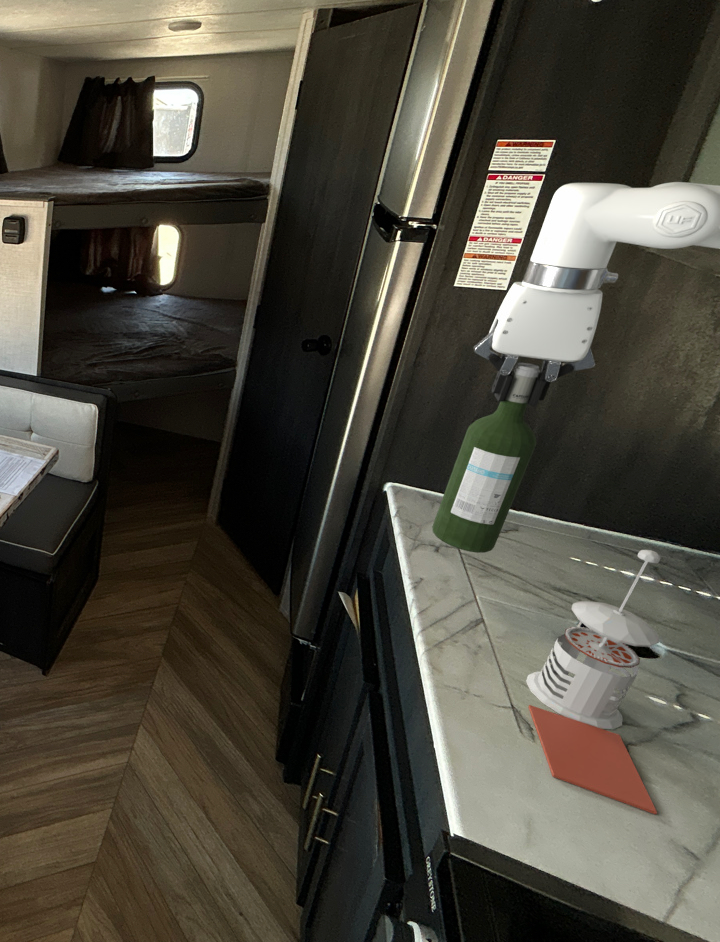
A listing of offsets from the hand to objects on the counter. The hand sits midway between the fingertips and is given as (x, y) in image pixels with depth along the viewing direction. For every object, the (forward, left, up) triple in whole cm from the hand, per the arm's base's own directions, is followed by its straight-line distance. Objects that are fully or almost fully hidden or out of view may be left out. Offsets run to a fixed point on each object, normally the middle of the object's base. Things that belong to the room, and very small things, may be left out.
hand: (514, 399), depth 93 cm
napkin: (-12, +27, -37) cm, 47 cm away
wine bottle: (0, 0, -25) cm, 25 cm away
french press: (-14, +15, -37) cm, 42 cm away
